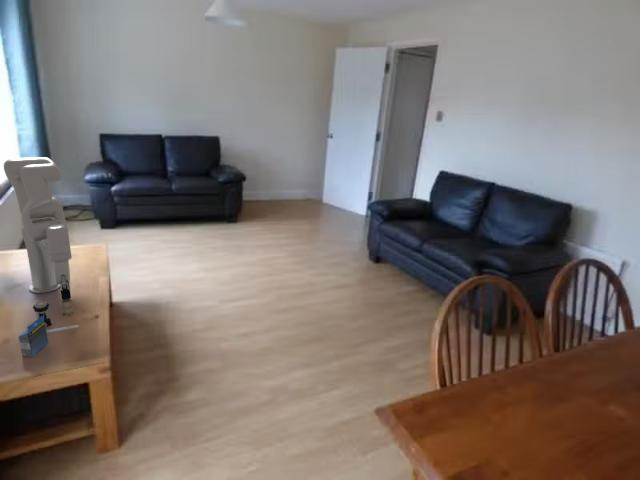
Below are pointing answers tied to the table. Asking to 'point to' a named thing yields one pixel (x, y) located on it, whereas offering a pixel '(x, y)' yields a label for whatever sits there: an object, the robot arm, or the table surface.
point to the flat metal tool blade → (61, 328)
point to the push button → (42, 312)
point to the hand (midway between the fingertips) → (65, 294)
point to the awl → (67, 307)
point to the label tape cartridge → (33, 338)
